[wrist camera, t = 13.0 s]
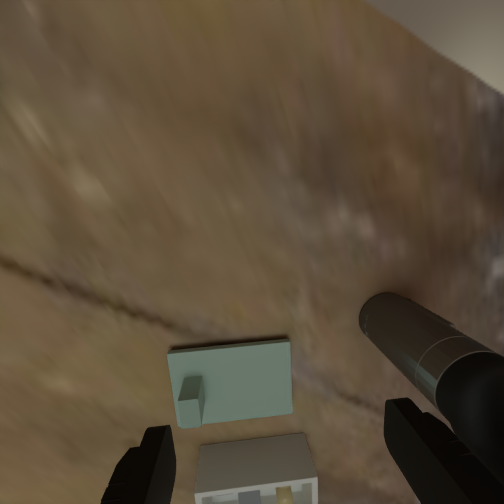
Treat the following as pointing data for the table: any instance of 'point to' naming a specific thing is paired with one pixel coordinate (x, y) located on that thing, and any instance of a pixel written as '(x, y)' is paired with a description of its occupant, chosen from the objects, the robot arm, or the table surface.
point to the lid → (231, 382)
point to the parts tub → (257, 472)
